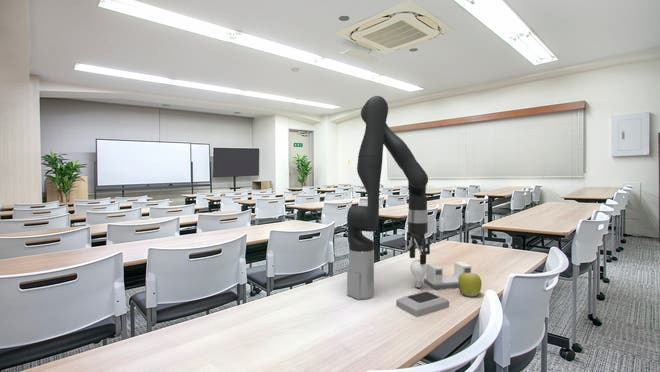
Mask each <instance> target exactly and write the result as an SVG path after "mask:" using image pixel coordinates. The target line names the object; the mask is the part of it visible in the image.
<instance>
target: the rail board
mask: <svg viewBox="0 0 660 372" xmlns="http://www.w3.org/2000/svg"><path fill="white" fill-rule="evenodd" d="M423 283H424V284H426V285H427V286H428V287H429V288H431V289H433V290H434V291H436V290H437V291H438V290H447V289H448V290H450V289H460V288H459V284H458V278H456V277H454V275H453V276H443V279H442V283H438V284H434V283H432V282H431V281H430V280H428V279H427V278H423Z"/></svg>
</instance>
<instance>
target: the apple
mask: <svg viewBox="0 0 660 372" xmlns="http://www.w3.org/2000/svg"><path fill="white" fill-rule="evenodd" d="M458 284H459V288H458V289H459V290H460V293H461V294H463V295H464V296H465V297H470V298H471V297H472V298H473V297H476V296H478V295H479V294H480V293H481V289H482V279H481V277H480V276H479V274H477V273H475V272H471V273H462V274H460V276H459V278H458Z"/></svg>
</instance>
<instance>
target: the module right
mask: <svg viewBox="0 0 660 372" xmlns="http://www.w3.org/2000/svg"><path fill="white" fill-rule="evenodd" d="M453 265H454V266H453V269H454V270H453V276H454V277H456V278H459V276H460V274H462V273H472V265H471V264H468V263H465V262H463V261H454V264H453Z"/></svg>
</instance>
